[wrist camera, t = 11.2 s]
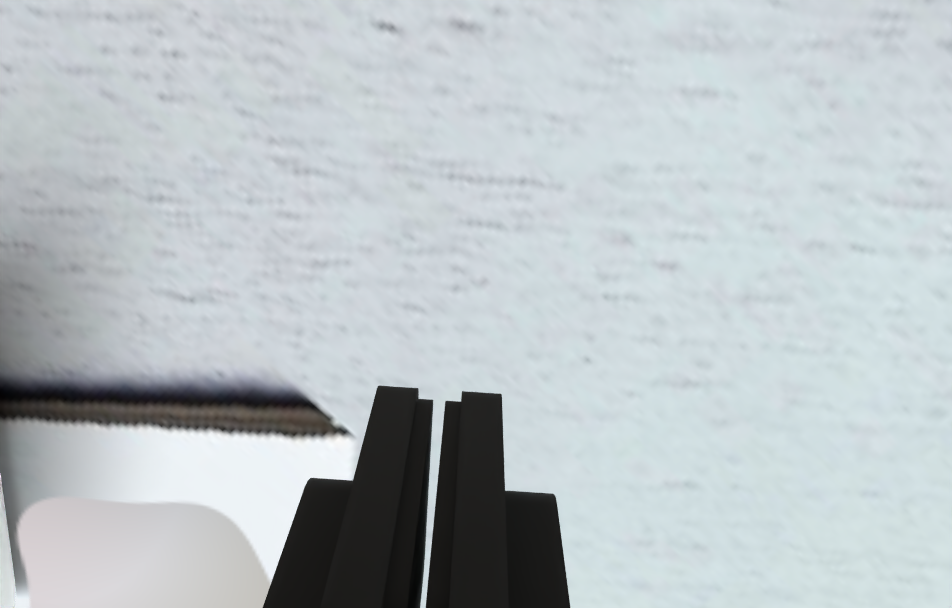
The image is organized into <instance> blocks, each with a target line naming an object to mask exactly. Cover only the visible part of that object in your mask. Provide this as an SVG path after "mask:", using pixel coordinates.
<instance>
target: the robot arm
mask: <svg viewBox="0 0 952 608" xmlns="http://www.w3.org/2000/svg"><path fill="white" fill-rule="evenodd" d="M432 414H433V400H426V399H418V388H405V387H390V386H378V388H377V391H376V395H375V399H374V402H373V406H372V410H371V414H370V418H369V422H368V425H367V429H366V433H365V437H364V441H363V445H362V449H361V452H360V456H359V460H358V464H357V468H356V472H355V475H354V479H353V481H349V480H334V479H319V478H310V479H309V480H308V482H307V484H306V486H305V488H304V491H303V494H302V497H301V500H300V503H299V505H298V508H297V511H296V514H295V517H294V520H293V523H292V525H291V528H290V531H289V534H288V537H287V540H286V543H285V545H284V548H283V551H282V554H281V557H280V560H279V563H278V565H277V568H276V571H275V574H274V577H273V580H272V583H271V585H270V588H269V591H268V594H267V597H266V600H265V603H264V606H263V608H420V602H421V593H422V583H423V572H424V559H425V542H426V523H427V505H428V487H429V469H430V451H431V432H432ZM426 608H570V602H569V594H568V586H567V579H566V571H565V563H564V555H563V548H562V540H561V532H560V524H559V516H558V509H557V502H556V497H555V495H554V494H547V493H532V492H517V491H505V480H504V450H503V419H502V395H501V394H494V393H479V392H464V391H462V399H461V402H456V401H446V402H445V412H444V423H443V433H442V444H441V454H440V464H439V475H438V485H437V496H436V506H435V516H434V527H433V537H432V548H431V558H430V568H429V579H428V589H427V600H426Z"/></svg>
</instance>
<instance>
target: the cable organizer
mask: <svg viewBox="0 0 952 608" xmlns="http://www.w3.org/2000/svg"><path fill="white" fill-rule="evenodd" d="M15 597H16V587H15V578H14V570H13V563H12V556H11V548H10V541H9V534H8V526H7V519H6V511H5V504H4V497H3V489H2V482H1V475H0V608H14V607H15Z"/></svg>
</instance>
